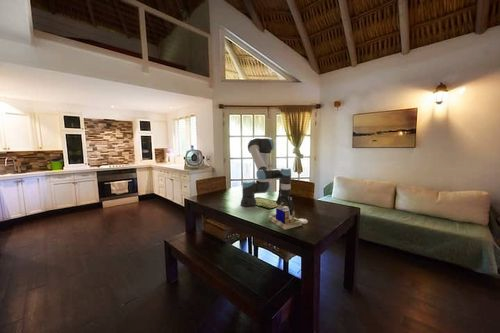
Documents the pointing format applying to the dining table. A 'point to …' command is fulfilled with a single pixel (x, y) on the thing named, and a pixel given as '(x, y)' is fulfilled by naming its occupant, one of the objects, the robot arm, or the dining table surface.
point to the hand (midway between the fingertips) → (284, 216)
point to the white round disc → (304, 221)
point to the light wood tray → (285, 226)
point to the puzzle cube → (284, 215)
